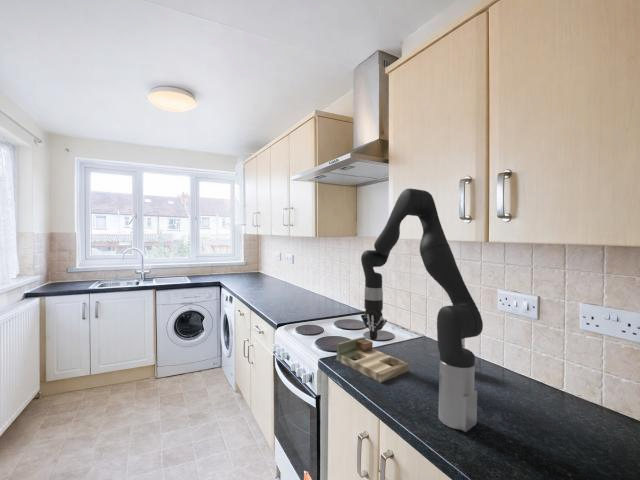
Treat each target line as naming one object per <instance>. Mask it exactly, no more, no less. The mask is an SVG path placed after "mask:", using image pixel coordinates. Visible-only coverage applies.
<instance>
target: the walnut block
mask: <svg viewBox="0 0 640 480" xmlns="http://www.w3.org/2000/svg"><path fill="white" fill-rule="evenodd" d="M373 343H374V342H373V341H371V340H369V339H367V338H366V339H361V340H358V341H356V349H357V350H360V351H362V352H367V351H371V350H372V349H374V348H373V345H374V344H373Z"/></svg>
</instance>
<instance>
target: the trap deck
mask: <svg viewBox="0 0 640 480" xmlns="http://www.w3.org/2000/svg"><path fill="white" fill-rule="evenodd" d="M361 339H366V340H367V337H366V336H360V337H357V338H352V339H349V340H346V341H342V342H339V343H336V361H337V362H339V363H341V364H343V365H345V366H347V367H349V368H351V369H353V370H355V371H356V372H358V373H360V374H363V375H365V376H366V377H368V378H369V379H370V378H371V379H372V380H375V382H378V383H380V384H382V383H383V382H386V381H389V380H391V379H393V378H395V377H398V376H400V375H402V374H405V373H407V372H409V363H408V362H405V361H403V360H401V359H399V358H396V357H394V356H392V355H391V356H390V355H389V354H386V353H384V352H381V351H378V350H376V349H374V348H372V350H371V351H367V352H362V351H360V350H357V349H356V341H358V340H361Z"/></svg>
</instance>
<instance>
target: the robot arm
mask: <svg viewBox="0 0 640 480" xmlns="http://www.w3.org/2000/svg"><path fill="white" fill-rule="evenodd" d="M407 216H414V217H418V219H419V221H420V224H421V227H422V235H421V240H420V244H419V253H420V256H421V261H422V262H423V265H424V268H425V270H426V272H427V273H428V275H429V276H431V278H432V279H433V280H434V281H435V282H436V283H438V284H439V286H441V288H442V289H443V290H444V291H445V292H446V294H447V295H448V297H449V300H450V302H451V304H452V305H445V306H442V307H441V308H440V309H439V311H438V313H437V316H436V334H437V335H436V336H437V338H436V339H437V349H438V353H439V371H438V373H439V375H438V377H439V378H438V381H439V382H438V420H439V421H440V422H441V423H442V424H444V425H445V426H447V427H448V428H451V429H454V430H460V431H462V432H464V433H466V432H468V431H470V430H471V429H472V428H473V427H474V426H476V425H477V423H478V422H477V417H478V416H477V414H478V391H477V390H475V374H476V373H475V372H476V371H475V370H476V368H475V367H476V366H475V365H476V355H475V354H474V352H473V351H471V350H470V349H468V348H466V347H465V348H463V347H462V338H465V339H469V338H475V337H478V336H480V335H481V333H482V332H483V329H484V328H483V327H484V323H483V318H482V315H481V312H480V311H479V308H478V306H477V304H476V302H475V300H474V298H473V297H472V295H471V293H470V291H469V289H468V287H467V285H466V283H465V281H464V278H463V276H462V274H461V271H460V270H459V267H458V265H457V262H456V259H455V256H454V254H453V252H452V248H451V246H450V244H449V242H448V239H447V237H446V235H445V232H444V229H443V227H442V224H441V221H440V220H441V219H440V217H439V214H438V210H437V206H436V202H435V200H434V197H433V195H432V194H431V193H430V192H429V191H427V190H424V189H423V190H422V189H417V188H406V189H404V190H402V192H401V193H400V194H399V196H398V197H397V200H396V201H395V203H394V206H393V209H392V210H391V213H390V215H389V218H388V219H387V222H386V225H385V226H384V227H383V230H382V231H381V233H380V234H379V235H378V237H377V239H375V242H374V244H373V247H374V250H373V249H369V250H368V249H367V250H364V251H363V252H362V254H361V256H360V257H361V259H360V262H361V265H362V269H363V274H364V278H365V281H364V282H365V283H364V286H365V287H364V310H365V311H364V313H363V314H361V315H360V318H361V320H362V322H363V324H364V326H365V328H367V329H368V331H369V338H370V341H371V340H372V341H375V340H377V338H378V331H382V329H383V328H384V326H385V325H386V323H387V322H388V320H387V319H385V318H384V317H383V313H382V311H383V309H384V307H383V306H384V305H383V304H384V301H383V300H384V297H383V295H384V293H383V292H384V291H383V275H382V274H381V273H380V272H376V271H375V269H374V268H381V267H383V266H384V265H385V264H387V262H388V259H389V257H390V253H391V251H392V250H393V248H394V247H395V246H396V245H397V243H398V241H399V238H400V235H401V234H400V233H401V228H400V227H401V223H402V221H404V220H405V218H406V217H407Z"/></svg>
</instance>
